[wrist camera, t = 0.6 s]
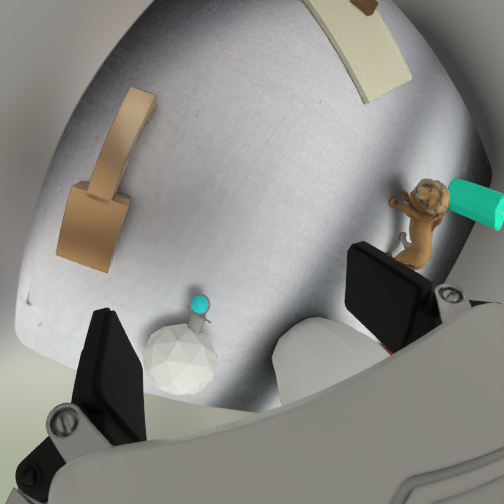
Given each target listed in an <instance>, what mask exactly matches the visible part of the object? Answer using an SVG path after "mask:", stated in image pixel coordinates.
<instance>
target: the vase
mask: <svg viewBox="0 0 504 504" xmlns="http://www.w3.org/2000/svg"><path fill="white" fill-rule="evenodd" d="M389 356H391V355H390V354H389V353H388V352H387V351H386V350H385V349H384V348H383V347H382V346H381V345H380V344H379V343H377V342H376V341H374V340H373V339H371V338H370V337H368V336H367V335H365V334H363V333H361V332H359V331H357V330H355V329H353V328H351V327H349V326H347V325H345V324H344V323H341V322H337V321H333V320H329V319H325V318H322V317H313V318H307V319H305V320H303V321H301V322H299V323H297V324H296V325H294V326H293V327H292V328H290V329H289V330H288V331H287V332H286V333H285V334H284V335H282V336H281V337H280V338H279V340H278V342H277V345H276V347H275V349H274V352H273V355H272V361H273V366H274V370H275V373H276V378H277V384H278V390H279V395H280V401H281V404H282V406H283V405H286V404H289V403H291V402H294V401H296V400H299V399H302V398H304V397H307V396H309V395H311V394H314V393H316V392H319V391H321V390H323V389H325V388H328V387H330V386H332V385H334V384H337V383H339V382H341V381H343V380H345V379H347V378H349V377H351V376H353V375H355V374H357V373H359V372H361V371H363V370H365V369H367V368H369V367H371V366H373V365H375V364H376V363H378V362H380V361H382V360H384V359H386V358H387V357H389Z"/></svg>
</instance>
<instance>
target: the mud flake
mask: <svg viewBox="0 0 504 504" xmlns="http://www.w3.org/2000/svg"><path fill="white" fill-rule="evenodd" d="M350 2H351V3H352V4H353V5H354V6H356V7H357V8H358V9H359V10H361V11H362V12H363V13H364V14H365V15H366V16H371V15H373V13H374V11H375V9H376V7H377V5H378V2H377V1H375V0H350Z"/></svg>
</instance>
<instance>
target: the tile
mask: <svg viewBox="0 0 504 504" xmlns="http://www.w3.org/2000/svg"><path fill="white" fill-rule="evenodd" d="M303 1H304V3H305V4H306V6H307V7H308V8H309V10H310V11H311V12H312V14H313V15H314V17H315V18H316V20H317V21H318V22H319V24H320V25H321V27H322V28H323V30H324V31H325V33H326V35H327V36H328V38H329V39H330V41H331V42H332V44H333V46H334V47H335V49H336V51H337V52H338V54H339V56H340V58H341V59H342V61H343V63H344V65H345V66H346V68H347V70H348V72H349V74H350V76H351V78H352V79H353V81H354V83H355V85H356V87H357V89H358V91H359V93H360V95H361V97H362V99H363V102H364V103H370V102H372V101H373V100H375V99H377V98H379V97H380V96H382V95H384V94H386V93H388V92H389V91H391V90H393V89H395V88H397V87H399V86H400V85H402V84H404V83H406V82H408V81H410V80H412V79H413V78H412V76H411V73H410V71H409V69H408V67H407V64H406V62H405V60H404V58H403V56H402V54H401V52H400V50H399V48H398V46H397V44H396V42H395V40H394V38H393V36H392V34H391V33H390V31H389V29H388V27H387V25H386V24H385V22H384V20H383V19H382V17H381V15H380V14H379V12H378V10H377V9H375V11H374V13H373V15H371V16H366V15H365V14H364V13H363V12H362V11H361V10H359V9H358V8H357V7H356V6H354V5H353V4H352V3H351V2H350V0H303Z"/></svg>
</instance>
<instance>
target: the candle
mask: <svg viewBox="0 0 504 504" xmlns="http://www.w3.org/2000/svg"><path fill="white" fill-rule="evenodd" d="M448 191H449V193H450V201H449V202H450V205H449V207H448V208H449V209H450V210H451V211H453V212H456V213H458V214H461V215H463V216H465V217H468V218H470V219H473V220H475V221H478V222H479V223H482V224H484V225H486V226H488V227H491V228H493V229H495V230H497V231H498V230H499V229H500V228H501V226H502V224H503V221H504V194H503V193H500V192H497V191H495V190H492V189H489V188H486V187H483V186H480V185H477V184H474V183H471V182H468V181H464V180H461V179H458V178H457V179H453V181H452V182H451V184H450V185H449V189H448Z"/></svg>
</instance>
